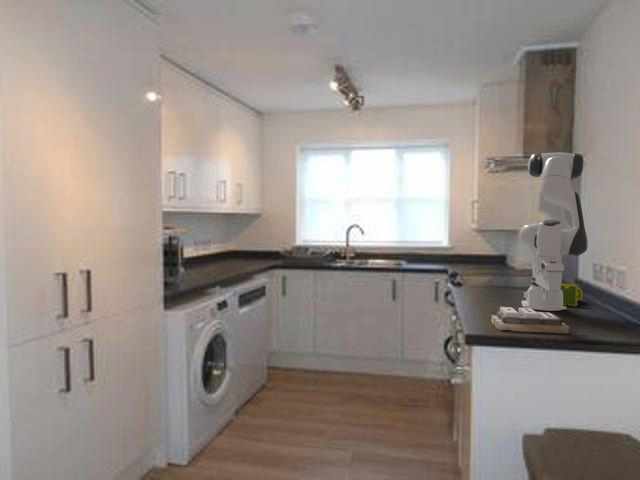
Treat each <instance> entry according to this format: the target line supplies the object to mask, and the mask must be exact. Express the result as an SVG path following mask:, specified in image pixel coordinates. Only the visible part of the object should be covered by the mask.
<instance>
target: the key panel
mask: <svg viewBox="0 0 640 480" xmlns="http://www.w3.org/2000/svg"><path fill="white" fill-rule="evenodd" d="M495 313H496V314H495V315H494V314H491V315H490V322H491V323H492V325H494V326H495V327H496V328H497V330H498V329H499V330H498V331H503V330H511V331H510V332H528V333H530V332H531V333H551V334H552V333H553V334H554V333H555V334H569V329H570V327H569V326H568V325H567V324H565V323H564V322H563V319H562V318H560V317H558V316H557V315H555V314H554V313H552V312H550V313H551V314H552V315H554V316H555V317H557V318H558V319H544V318H543V317H542V316H540V315H539V314H538V319H535V318H524V317H523V316H522V315H521V314H518V318H510V317H505V316H504V315H502V314H501V313H500V310H496V312H495Z"/></svg>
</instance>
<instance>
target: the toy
mask: <svg viewBox="0 0 640 480" xmlns="http://www.w3.org/2000/svg"><path fill="white" fill-rule="evenodd" d="M560 289H561V290H562V291H563V305H564V306H568V307H577V306H578V300H583V289H581V288H580V287H579V286H578V284H572V283H569V284H568V283H561V288H560Z"/></svg>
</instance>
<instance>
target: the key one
mask: <svg viewBox="0 0 640 480" xmlns="http://www.w3.org/2000/svg"><path fill="white" fill-rule="evenodd" d="M499 311H500V313H501V314H502V315H504V316H505V317H510V318H518V314H519V313H518V311H516V310H515V309H514V308H513V307H512V306H511V307H508V306H499Z"/></svg>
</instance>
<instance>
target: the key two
mask: <svg viewBox="0 0 640 480" xmlns="http://www.w3.org/2000/svg"><path fill="white" fill-rule="evenodd" d="M517 312H518V313H519V314H521V315H522V316H523V317H524V318H535V319H538V313H537V312H538V311H535V309H531V308H524V307H518V311H517Z"/></svg>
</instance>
